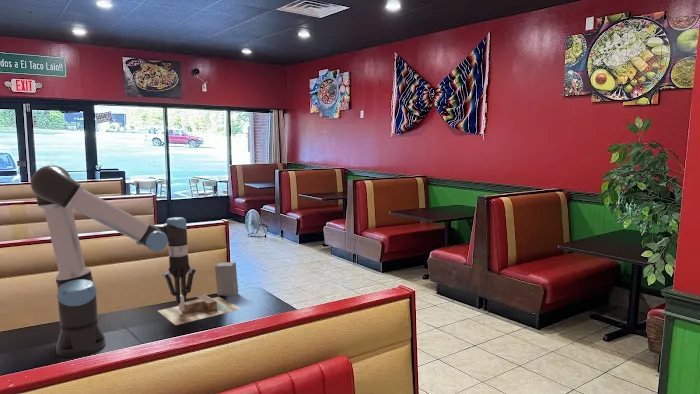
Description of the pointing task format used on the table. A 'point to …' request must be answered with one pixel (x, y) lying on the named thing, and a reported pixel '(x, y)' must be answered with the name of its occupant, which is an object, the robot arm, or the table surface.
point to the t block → (200, 305)
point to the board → (180, 318)
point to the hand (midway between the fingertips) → (181, 310)
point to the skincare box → (226, 278)
